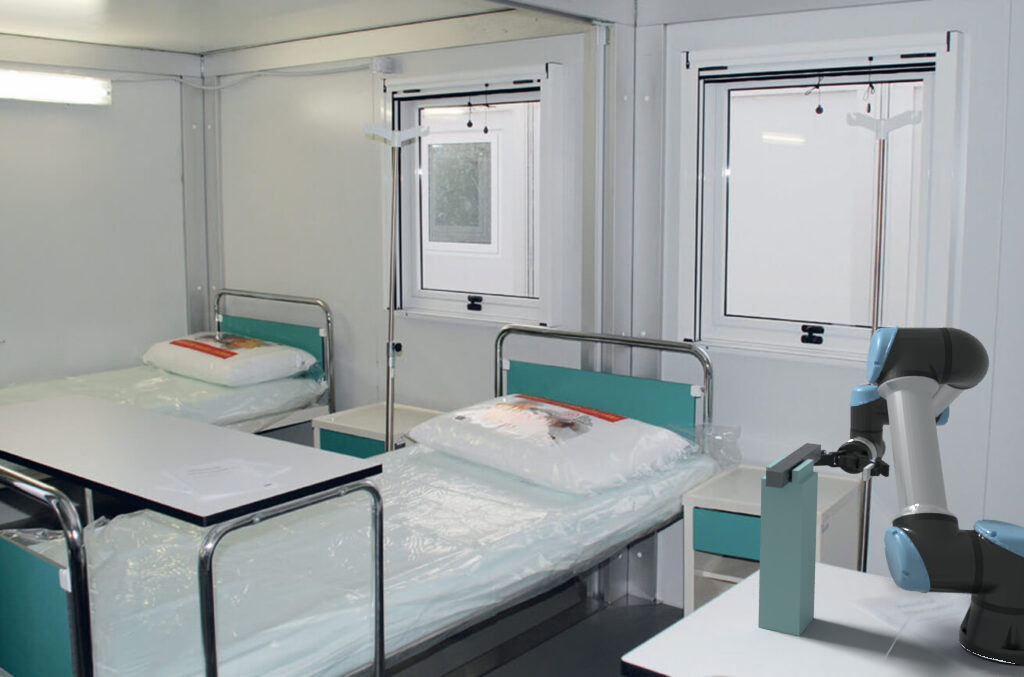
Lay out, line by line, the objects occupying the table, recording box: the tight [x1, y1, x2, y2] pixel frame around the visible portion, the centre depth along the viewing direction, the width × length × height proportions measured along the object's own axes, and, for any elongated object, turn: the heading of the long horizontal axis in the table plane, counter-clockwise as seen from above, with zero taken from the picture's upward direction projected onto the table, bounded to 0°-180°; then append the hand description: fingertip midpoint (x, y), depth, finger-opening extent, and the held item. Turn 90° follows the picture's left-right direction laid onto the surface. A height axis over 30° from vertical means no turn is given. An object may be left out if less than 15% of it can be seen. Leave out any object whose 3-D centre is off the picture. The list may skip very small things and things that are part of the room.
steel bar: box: [765, 442, 822, 488], centre depth 196 cm, size 26×3×3 cm, turn 147°
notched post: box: [757, 455, 819, 637], centre depth 195 cm, size 10×8×32 cm
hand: (832, 470), depth 215 cm, fingers open, 13 cm apart
